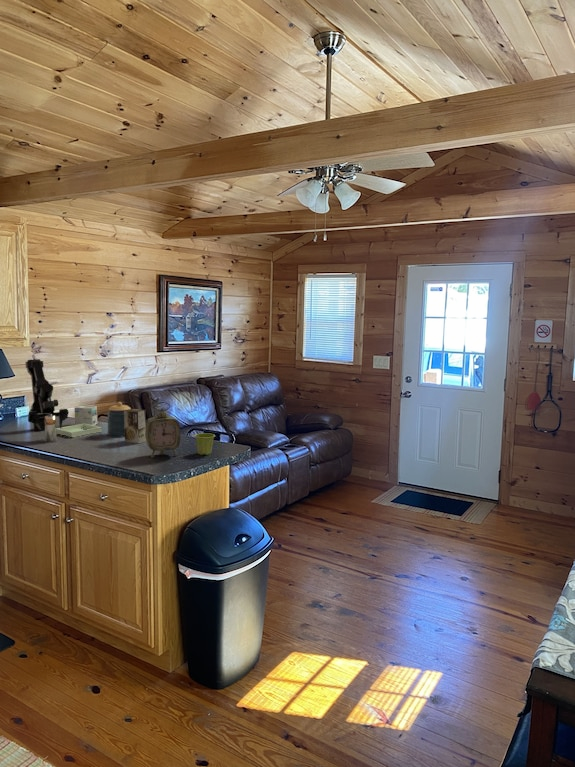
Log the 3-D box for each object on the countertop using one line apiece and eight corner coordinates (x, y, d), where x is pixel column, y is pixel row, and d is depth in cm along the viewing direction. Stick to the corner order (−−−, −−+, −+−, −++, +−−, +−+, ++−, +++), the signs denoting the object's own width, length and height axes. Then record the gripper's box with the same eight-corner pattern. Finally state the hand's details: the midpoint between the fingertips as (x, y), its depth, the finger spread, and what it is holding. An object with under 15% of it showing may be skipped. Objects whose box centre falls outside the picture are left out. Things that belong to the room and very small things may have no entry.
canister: (102, 435, 304) (101, 402, 301) (118, 431, 316) (117, 399, 313) (122, 438, 299) (121, 404, 297) (137, 433, 311) (137, 401, 309)
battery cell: (43, 441, 289) (42, 414, 287) (53, 439, 293) (51, 413, 291) (49, 443, 286) (48, 415, 284) (58, 441, 290) (57, 414, 288)
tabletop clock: (148, 459, 258) (147, 404, 255) (145, 454, 266) (144, 401, 263) (180, 456, 264) (180, 402, 261) (176, 451, 272) (175, 399, 269)
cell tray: (54, 433, 307) (54, 428, 307) (84, 428, 322) (84, 423, 321) (71, 437, 298) (71, 432, 297) (101, 432, 312) (101, 427, 312)
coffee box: (147, 441, 293) (146, 409, 291) (138, 443, 287) (138, 411, 285) (132, 439, 297) (132, 408, 295) (124, 441, 291) (123, 410, 289)
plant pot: (205, 450, 276) (205, 432, 275) (219, 453, 270) (219, 435, 269) (190, 453, 269) (190, 435, 268) (204, 457, 263) (204, 438, 262)
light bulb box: (97, 424, 333) (97, 405, 332) (92, 426, 327) (92, 407, 325) (80, 423, 334) (79, 405, 333) (74, 426, 328) (74, 407, 326)
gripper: (27, 395, 285) (32, 421, 277) (67, 393, 295) (73, 417, 287) (25, 409, 292) (30, 434, 285) (64, 406, 302) (69, 430, 295)
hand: (51, 429), depth 288 cm, fingers open, 9 cm apart
